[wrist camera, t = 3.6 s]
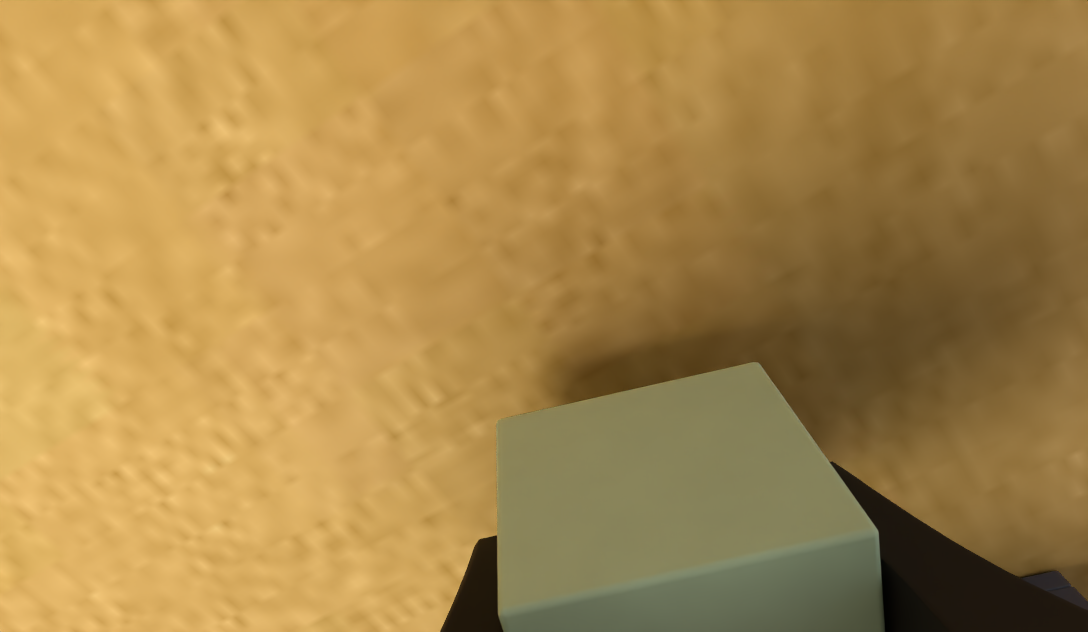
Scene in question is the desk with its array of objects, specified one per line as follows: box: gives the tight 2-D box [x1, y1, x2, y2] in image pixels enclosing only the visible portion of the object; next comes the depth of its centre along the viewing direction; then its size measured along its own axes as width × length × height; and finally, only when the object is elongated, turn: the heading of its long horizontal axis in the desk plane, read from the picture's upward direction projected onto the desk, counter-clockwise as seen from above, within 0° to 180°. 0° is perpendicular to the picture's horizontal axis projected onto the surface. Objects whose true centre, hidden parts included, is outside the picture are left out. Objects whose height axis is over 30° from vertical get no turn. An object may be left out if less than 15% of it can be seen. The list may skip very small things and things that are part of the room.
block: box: [496, 362, 885, 632], centre depth 12 cm, size 4×4×4 cm
